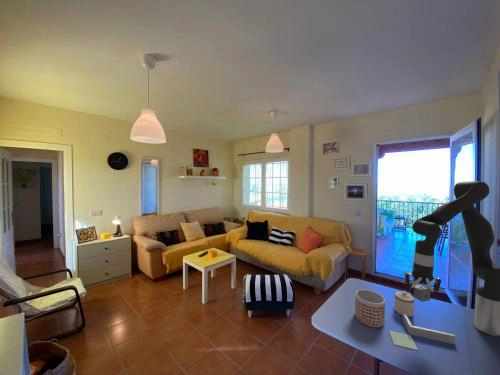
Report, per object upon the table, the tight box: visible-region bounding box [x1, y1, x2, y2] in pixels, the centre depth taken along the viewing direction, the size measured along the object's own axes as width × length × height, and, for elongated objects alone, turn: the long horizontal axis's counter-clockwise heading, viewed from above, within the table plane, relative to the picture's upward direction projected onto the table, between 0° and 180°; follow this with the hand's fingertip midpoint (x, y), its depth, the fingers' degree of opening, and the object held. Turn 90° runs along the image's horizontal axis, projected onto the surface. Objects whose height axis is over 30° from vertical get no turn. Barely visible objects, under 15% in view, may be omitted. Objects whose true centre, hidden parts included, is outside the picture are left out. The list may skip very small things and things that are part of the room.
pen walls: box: [402, 313, 457, 345], centre depth 103 cm, size 17×11×4 cm, turn 69°
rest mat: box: [388, 330, 419, 351], centre depth 97 cm, size 9×9×1 cm
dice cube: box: [410, 284, 431, 303], centre depth 100 cm, size 5×5×5 cm
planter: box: [354, 288, 386, 329], centre depth 112 cm, size 14×14×13 cm
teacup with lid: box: [394, 290, 416, 318], centre depth 119 cm, size 12×9×12 cm
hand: (420, 296), depth 101 cm, fingers closed on dice cube, 6 cm apart
